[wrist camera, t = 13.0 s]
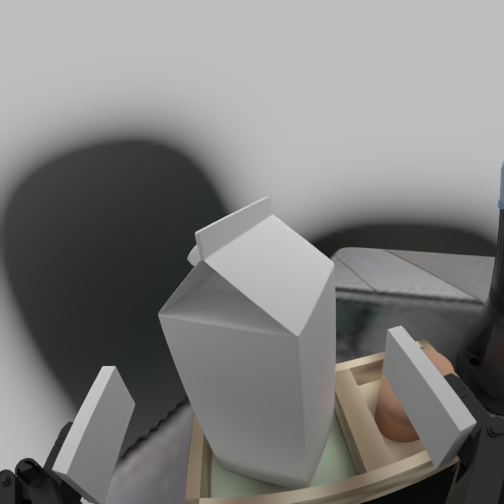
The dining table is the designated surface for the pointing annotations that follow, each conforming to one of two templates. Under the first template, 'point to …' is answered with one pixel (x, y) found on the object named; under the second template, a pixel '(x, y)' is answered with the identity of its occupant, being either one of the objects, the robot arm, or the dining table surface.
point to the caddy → (334, 447)
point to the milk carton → (257, 345)
